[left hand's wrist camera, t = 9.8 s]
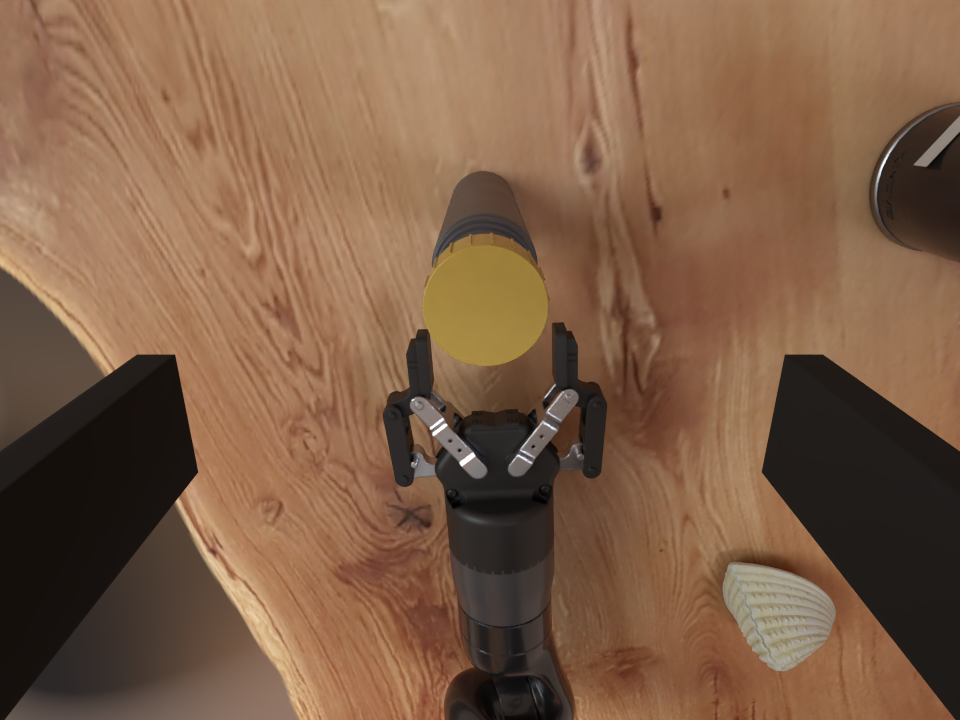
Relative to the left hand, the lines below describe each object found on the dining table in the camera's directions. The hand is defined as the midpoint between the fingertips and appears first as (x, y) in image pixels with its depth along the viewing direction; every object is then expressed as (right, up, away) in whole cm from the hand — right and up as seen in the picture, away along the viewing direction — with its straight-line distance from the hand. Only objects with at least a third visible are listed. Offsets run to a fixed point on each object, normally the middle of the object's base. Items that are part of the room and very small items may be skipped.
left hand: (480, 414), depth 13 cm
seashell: (+25, -19, +41) cm, 52 cm away
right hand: (+1, +3, +26) cm, 26 cm away
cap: (0, +3, +7) cm, 8 cm away
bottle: (0, +12, +29) cm, 31 cm away
